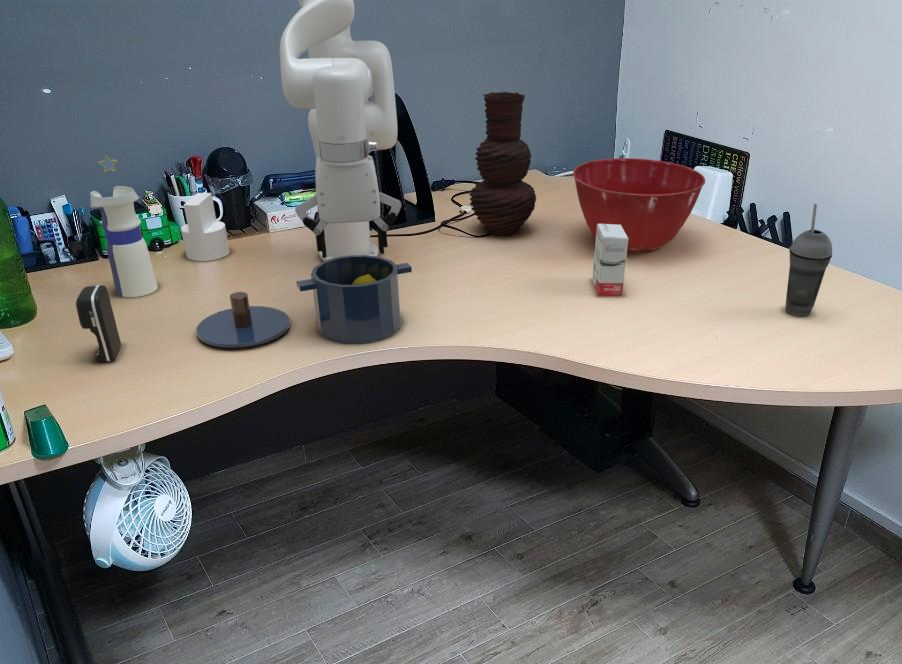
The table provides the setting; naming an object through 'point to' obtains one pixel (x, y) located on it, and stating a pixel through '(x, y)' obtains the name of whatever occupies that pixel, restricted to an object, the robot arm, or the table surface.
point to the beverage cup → (807, 269)
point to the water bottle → (124, 240)
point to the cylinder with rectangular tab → (203, 230)
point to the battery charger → (99, 320)
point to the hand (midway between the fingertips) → (353, 253)
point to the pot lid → (242, 324)
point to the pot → (356, 298)
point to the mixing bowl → (638, 198)
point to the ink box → (609, 259)
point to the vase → (503, 168)
